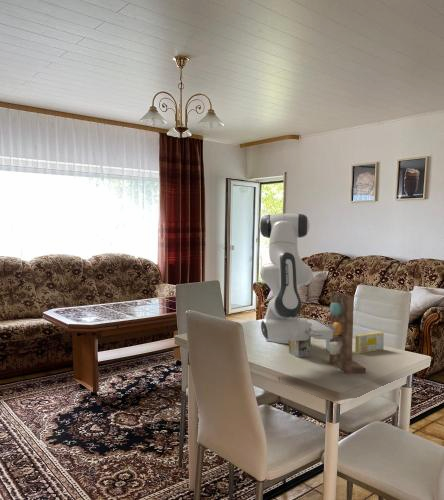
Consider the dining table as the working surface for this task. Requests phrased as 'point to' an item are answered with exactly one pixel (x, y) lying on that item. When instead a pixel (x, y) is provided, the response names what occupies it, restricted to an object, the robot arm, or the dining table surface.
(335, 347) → the cream button
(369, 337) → the candy box
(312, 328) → the robot arm
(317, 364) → the dining table surface
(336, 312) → the teal button
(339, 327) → the orange button
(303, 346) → the coffee box
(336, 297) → the button panel
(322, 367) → the dining table surface
